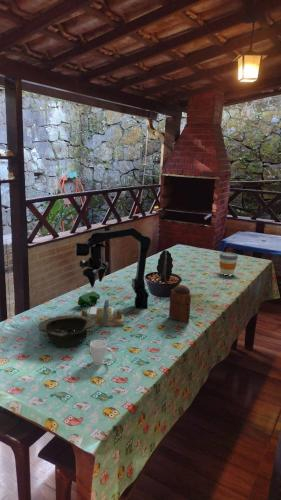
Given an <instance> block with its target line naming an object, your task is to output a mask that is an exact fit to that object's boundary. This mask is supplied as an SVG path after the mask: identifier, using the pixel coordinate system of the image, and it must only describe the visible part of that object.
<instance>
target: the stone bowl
mask: <svg viewBox="0 0 281 500" xmlns="http://www.w3.org/2000/svg"><path fill="white" fill-rule="evenodd" d="M96 324H97V323H95V320H93V319H91V318H89V317H86V316H81V315H80V314H79V315H78V314H71V315H69V314H68V315H59V316H55V317H48V318H47V319H45V320H43V321H41V322H39V324H38V331H41V332H43V333H45V334H46V336H47V338H48V339H49V341H51V342H52V343H53V344H54V343H55V344H56V347H57V348H60V349H62V348H71V347H77V346H78V345H80V342H81V341H84V340H86V339H87V337H88V330H89V329H92V328H93V327H94V326H97V325H96ZM72 330H75V331H74V332H73V331H72Z"/></svg>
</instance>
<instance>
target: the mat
mask: <svg viewBox="0 0 281 500" xmlns="http://www.w3.org/2000/svg"><path fill="white" fill-rule="evenodd" d="M97 308H104V306H103V307H101V306H90V309H89V313H88V314H96V311H97ZM110 308H111V314H114V310H115V309H114V307H110Z"/></svg>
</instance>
